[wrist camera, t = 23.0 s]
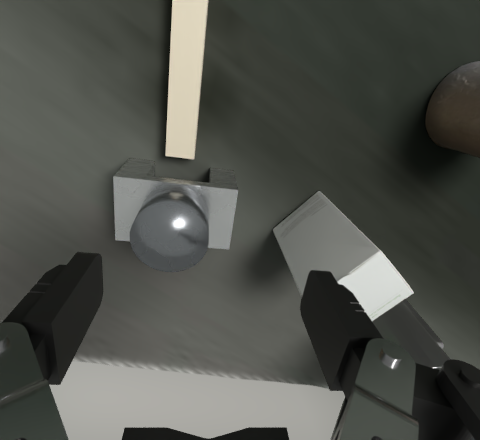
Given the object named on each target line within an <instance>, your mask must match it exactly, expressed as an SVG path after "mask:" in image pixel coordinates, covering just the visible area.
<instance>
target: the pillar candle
mask: <svg viewBox="0 0 480 440" xmlns="http://www.w3.org/2000/svg"><path fill="white" fill-rule="evenodd" d="M425 121H426V122H425V123H426V129H427V132H428V134H429V137H430V138H431V139H432V141H433V142H435V143H436V144H437V145H439V146H441V147H443V148H447V149H454V150H457V151H460V152H462V153H466V154H469V155H472V156H475V157H479V158H480V61H478V62H472V63H468V64H466V65H463V66H460V67H458V68H457V69H455V70H454V71H453V72H451V73H450V74H448V75H447V76H446V77H445V78H444V79H443V80H442V81H441V83H440V84H439V85H438V86H437V88H436V90H435V91H434V93H433V94H432V96H431V99H430V101H429V104H428V108H427V112H426V120H425Z"/></svg>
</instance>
